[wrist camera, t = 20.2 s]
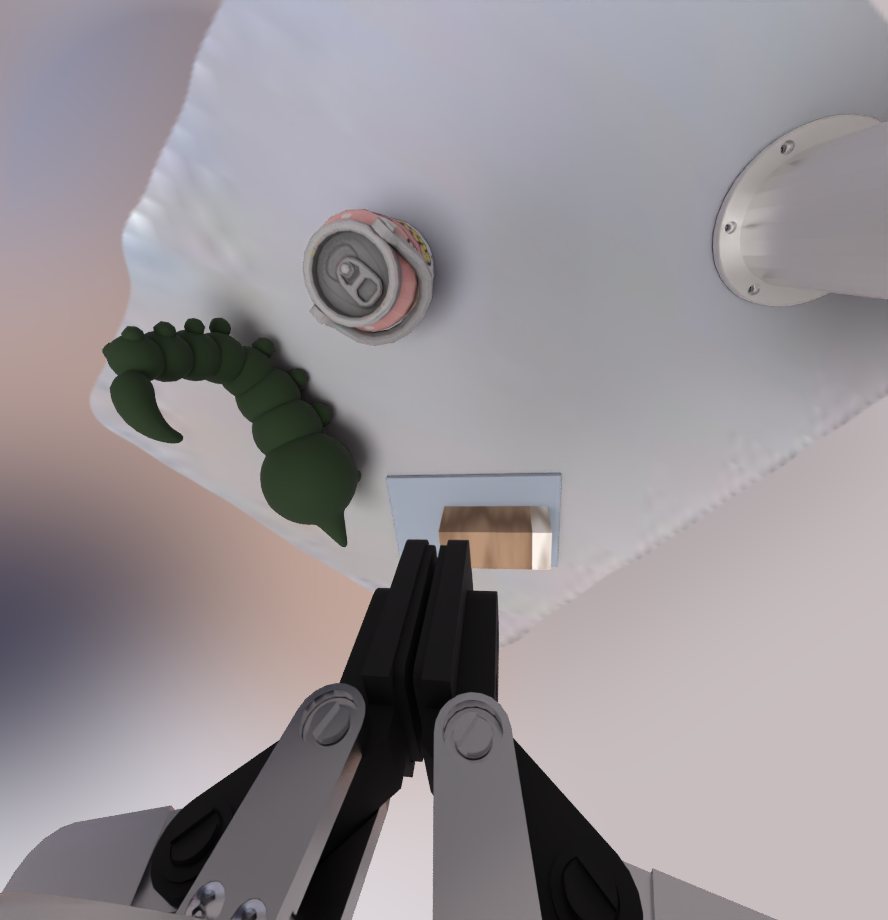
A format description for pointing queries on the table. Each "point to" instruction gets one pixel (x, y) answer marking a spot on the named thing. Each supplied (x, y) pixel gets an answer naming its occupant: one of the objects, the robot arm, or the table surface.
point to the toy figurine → (260, 401)
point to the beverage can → (368, 276)
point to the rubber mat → (467, 500)
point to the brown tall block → (501, 535)
